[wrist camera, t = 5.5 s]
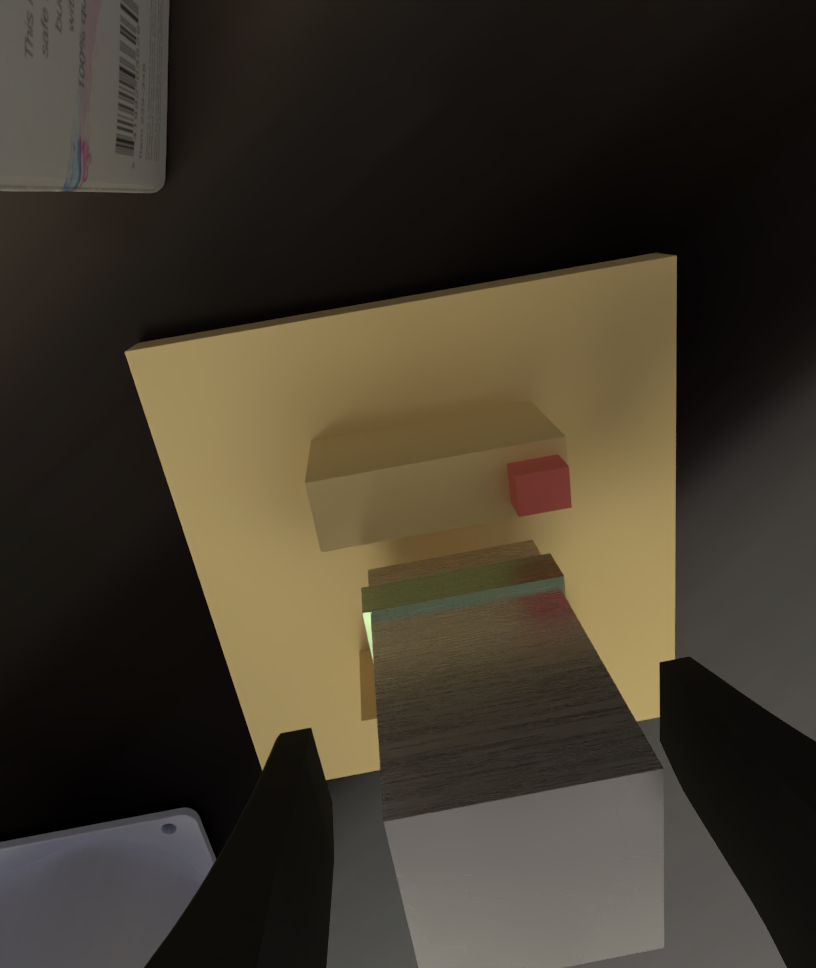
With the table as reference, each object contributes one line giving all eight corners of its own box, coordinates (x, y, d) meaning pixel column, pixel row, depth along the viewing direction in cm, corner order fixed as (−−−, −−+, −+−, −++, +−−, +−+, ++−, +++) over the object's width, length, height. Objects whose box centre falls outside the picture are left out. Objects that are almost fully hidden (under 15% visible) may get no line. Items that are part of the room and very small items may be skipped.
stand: (272, 763, 23) (254, 899, 19) (138, 343, 17) (64, 390, 13) (659, 690, 24) (735, 807, 19) (656, 252, 18) (765, 267, 13)
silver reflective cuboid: (390, 705, 17) (417, 1002, 11) (360, 565, 16) (371, 816, 9) (550, 676, 17) (673, 951, 11) (538, 533, 16) (674, 758, 9)
